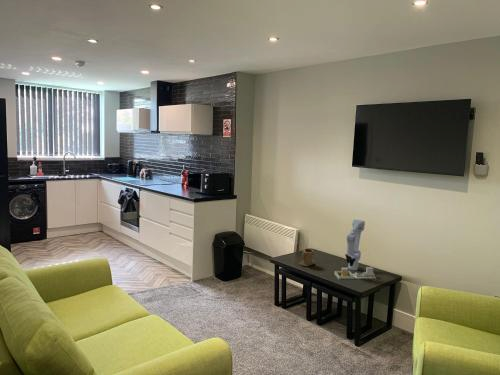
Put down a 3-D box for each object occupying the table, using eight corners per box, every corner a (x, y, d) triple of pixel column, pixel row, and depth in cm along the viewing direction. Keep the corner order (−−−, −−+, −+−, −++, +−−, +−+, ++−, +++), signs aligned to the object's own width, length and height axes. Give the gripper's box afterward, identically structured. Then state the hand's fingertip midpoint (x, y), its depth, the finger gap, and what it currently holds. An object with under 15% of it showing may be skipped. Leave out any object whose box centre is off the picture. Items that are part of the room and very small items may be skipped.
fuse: (365, 275, 320) (366, 267, 319) (371, 275, 321) (371, 267, 320) (366, 276, 317) (367, 268, 316) (372, 276, 318) (373, 268, 317)
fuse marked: (341, 275, 319) (341, 267, 318) (346, 275, 319) (347, 267, 318) (342, 277, 316) (342, 268, 315) (347, 277, 316) (348, 269, 315)
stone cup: (306, 268, 336) (307, 252, 334) (297, 264, 346) (297, 248, 344) (318, 265, 346) (319, 249, 343) (309, 261, 355) (309, 245, 353)
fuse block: (351, 274, 323) (351, 270, 323) (372, 274, 324) (372, 270, 324) (355, 279, 313) (355, 275, 313) (376, 279, 314) (376, 275, 314)
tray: (334, 274, 324) (334, 271, 324) (349, 274, 325) (349, 271, 324) (338, 280, 311) (339, 276, 311) (354, 280, 312) (354, 276, 311)
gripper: (343, 246, 326) (342, 261, 328) (348, 251, 312) (347, 267, 314) (351, 246, 327) (350, 261, 329) (357, 251, 312) (356, 267, 314)
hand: (349, 264), depth 321 cm, fingers open, 7 cm apart
